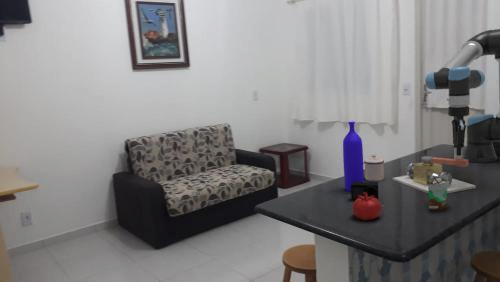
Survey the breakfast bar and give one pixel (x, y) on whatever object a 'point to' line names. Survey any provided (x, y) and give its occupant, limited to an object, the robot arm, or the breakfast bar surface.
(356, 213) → the pomegranate
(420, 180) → the valve body
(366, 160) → the teacup with lid
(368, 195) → the digital camera
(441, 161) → the lever
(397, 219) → the breakfast bar surface
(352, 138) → the bottle
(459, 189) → the mounting board
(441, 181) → the food container
